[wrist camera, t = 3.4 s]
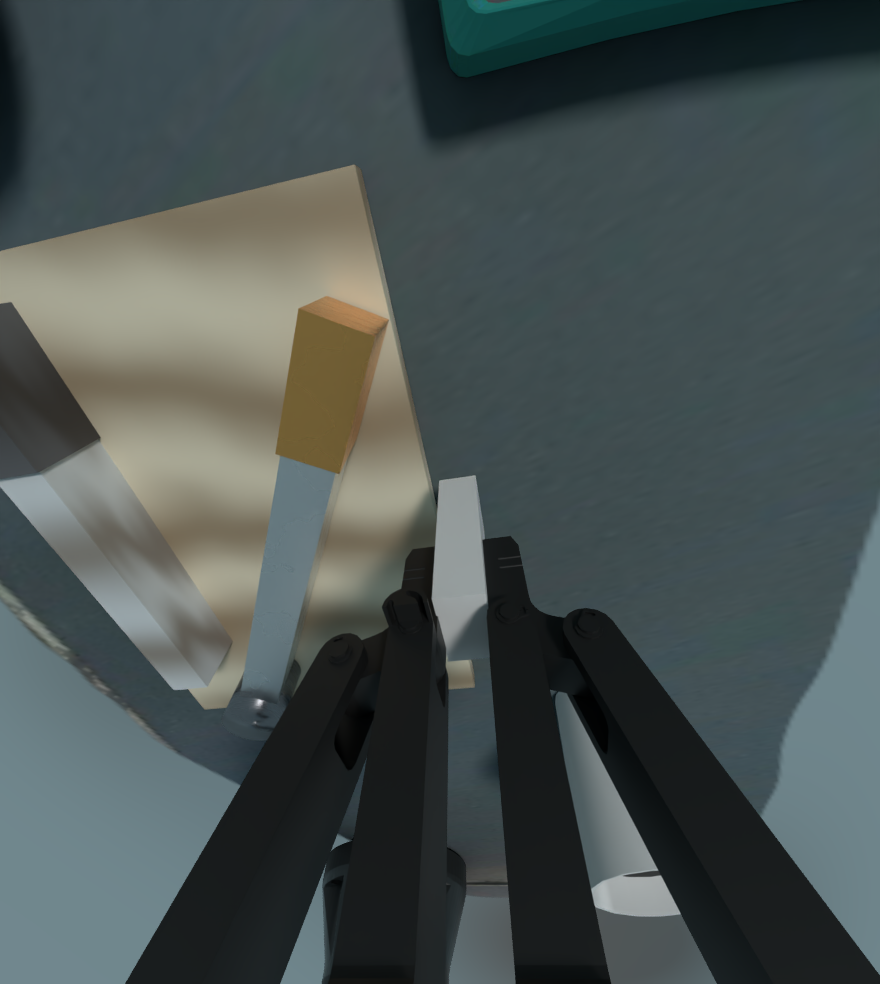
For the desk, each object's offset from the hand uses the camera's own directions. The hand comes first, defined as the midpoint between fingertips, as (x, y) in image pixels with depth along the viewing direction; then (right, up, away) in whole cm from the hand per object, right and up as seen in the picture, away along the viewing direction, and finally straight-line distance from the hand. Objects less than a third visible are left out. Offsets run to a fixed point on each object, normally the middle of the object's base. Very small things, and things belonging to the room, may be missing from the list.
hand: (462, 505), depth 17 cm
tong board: (-10, -1, +4) cm, 11 cm away
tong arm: (-8, -2, +3) cm, 9 cm away
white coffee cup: (+10, -14, +11) cm, 20 cm away
